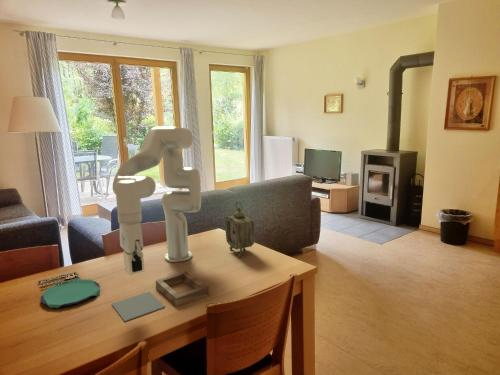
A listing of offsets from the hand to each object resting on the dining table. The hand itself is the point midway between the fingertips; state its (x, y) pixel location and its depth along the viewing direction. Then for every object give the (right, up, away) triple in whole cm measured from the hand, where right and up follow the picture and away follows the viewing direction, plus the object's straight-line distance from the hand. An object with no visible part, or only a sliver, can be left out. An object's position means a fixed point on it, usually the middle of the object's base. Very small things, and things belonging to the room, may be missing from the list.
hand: (134, 267), depth 123 cm
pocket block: (+14, -12, +13) cm, 22 cm away
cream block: (0, -1, 0) cm, 1 cm away
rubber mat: (0, -14, +3) cm, 15 cm away
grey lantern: (+35, -4, +50) cm, 61 cm away
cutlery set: (-31, -13, +16) cm, 37 cm away
